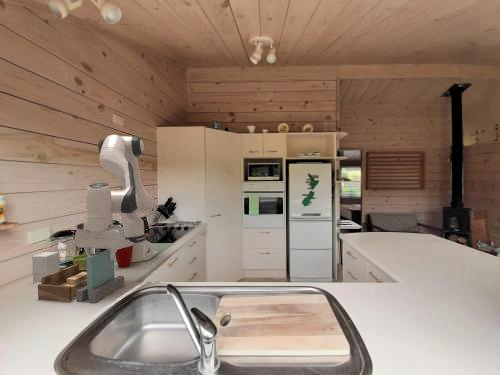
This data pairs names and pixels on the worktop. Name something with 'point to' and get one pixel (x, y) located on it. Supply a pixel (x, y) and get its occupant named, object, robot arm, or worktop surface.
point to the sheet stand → (99, 291)
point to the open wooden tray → (58, 285)
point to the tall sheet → (99, 270)
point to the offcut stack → (77, 282)
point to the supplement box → (45, 265)
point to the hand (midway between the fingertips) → (101, 259)
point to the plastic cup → (124, 255)
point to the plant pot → (80, 261)
